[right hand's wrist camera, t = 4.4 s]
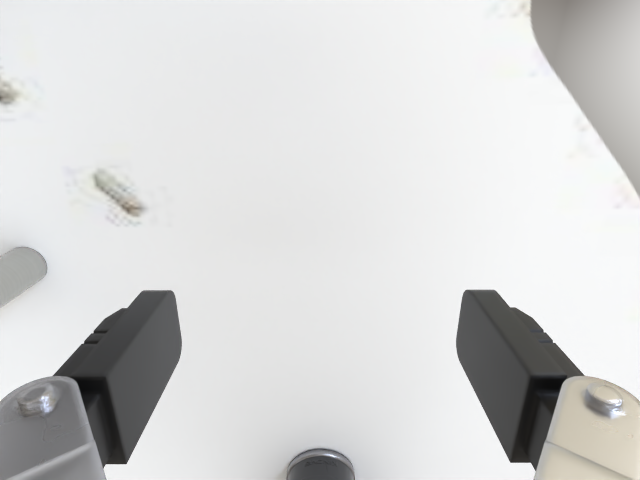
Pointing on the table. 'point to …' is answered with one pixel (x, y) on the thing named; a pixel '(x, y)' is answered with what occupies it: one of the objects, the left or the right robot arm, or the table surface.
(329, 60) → the table surface
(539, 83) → the table surface
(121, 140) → the table surface
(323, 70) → the table surface
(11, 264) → the bottle
